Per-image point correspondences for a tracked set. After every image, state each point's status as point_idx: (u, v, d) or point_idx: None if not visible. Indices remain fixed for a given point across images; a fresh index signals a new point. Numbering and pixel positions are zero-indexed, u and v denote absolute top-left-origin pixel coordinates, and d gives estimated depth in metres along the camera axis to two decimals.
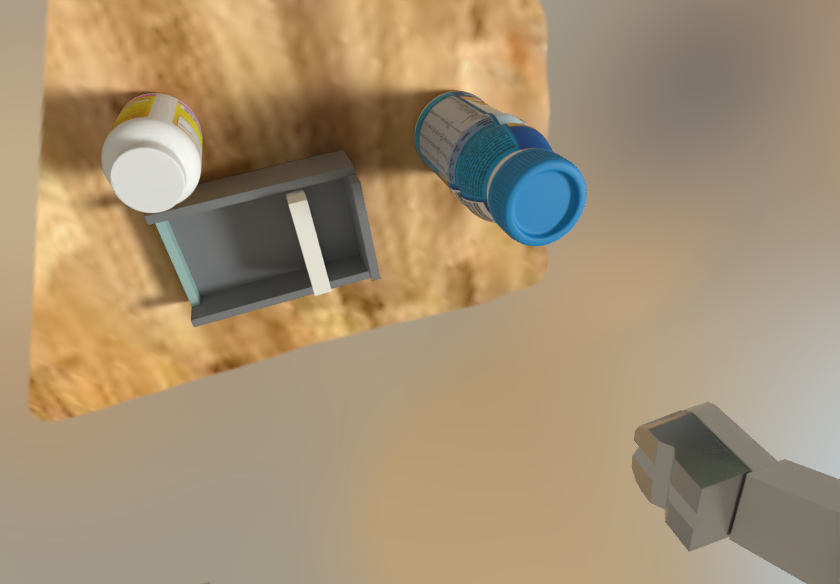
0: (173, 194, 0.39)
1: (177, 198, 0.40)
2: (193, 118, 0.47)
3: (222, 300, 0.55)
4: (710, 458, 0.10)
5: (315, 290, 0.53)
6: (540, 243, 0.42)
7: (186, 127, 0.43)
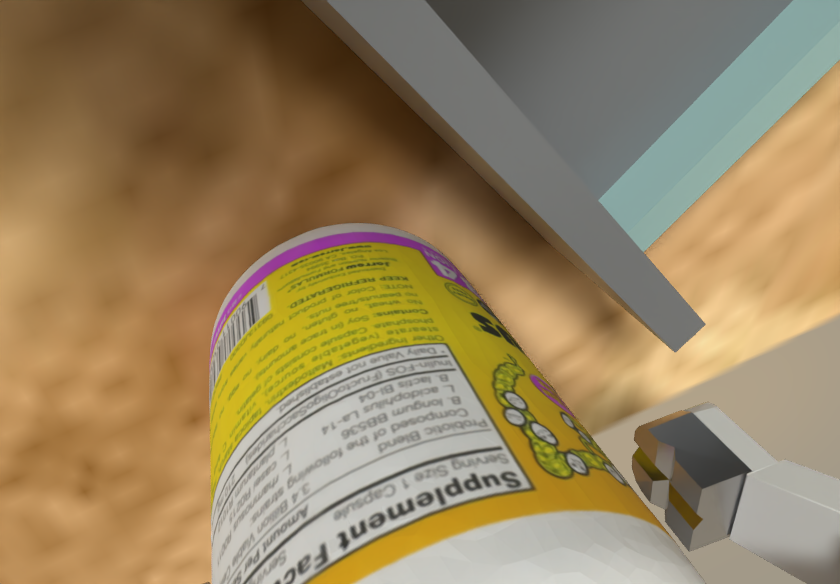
0: None
1: None
2: (217, 363, 0.11)
3: None
4: (710, 458, 0.10)
5: None
6: None
7: None
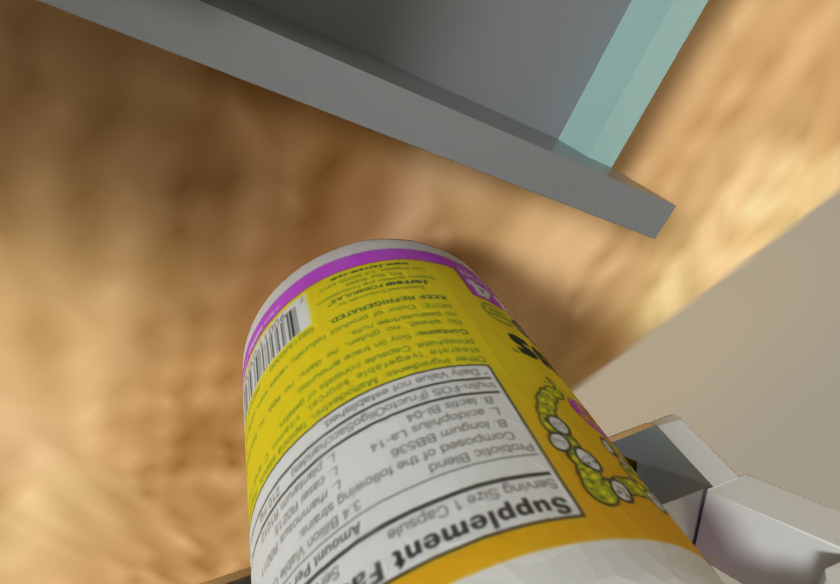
0: None
1: None
2: (254, 373, 0.11)
3: None
4: (672, 472, 0.09)
5: None
6: None
7: None
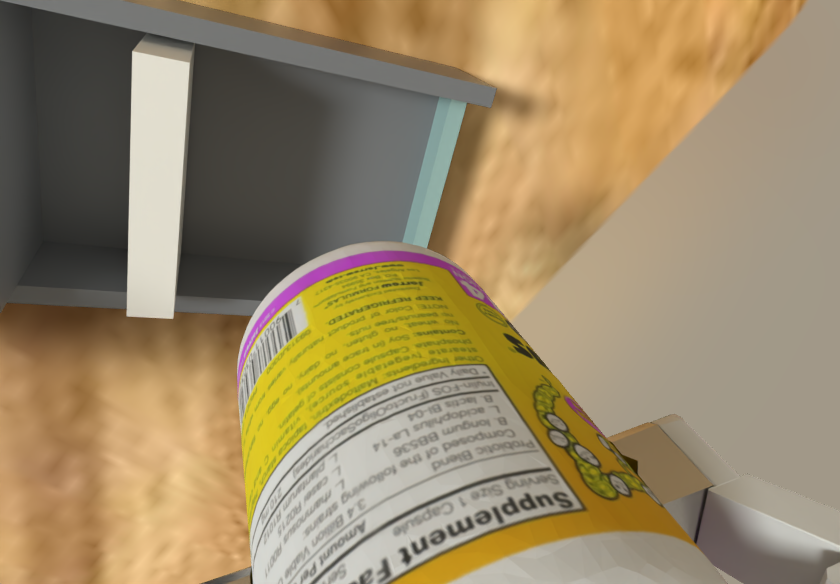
0: None
1: None
2: (251, 376, 0.11)
3: None
4: (672, 472, 0.10)
5: (180, 80, 0.18)
6: None
7: None
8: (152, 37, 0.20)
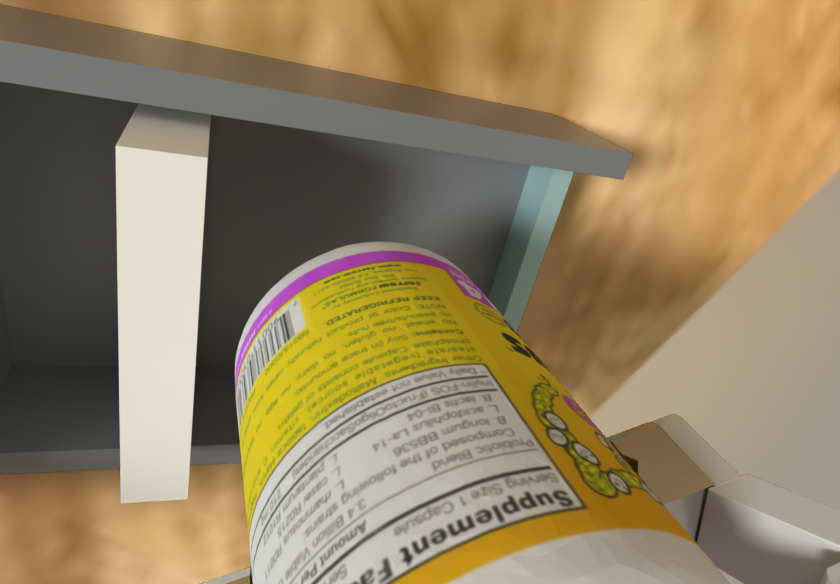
0: None
1: None
2: (249, 377, 0.11)
3: None
4: (673, 472, 0.09)
5: (193, 183, 0.11)
6: None
7: None
8: None
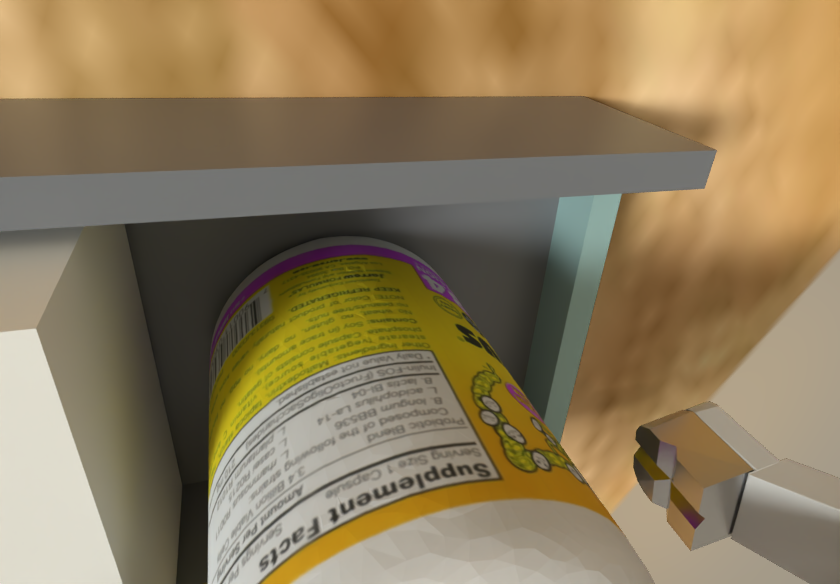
0: None
1: None
2: (219, 359, 0.12)
3: None
4: (711, 457, 0.10)
5: (27, 368, 0.07)
6: None
7: (211, 571, 0.09)
8: None
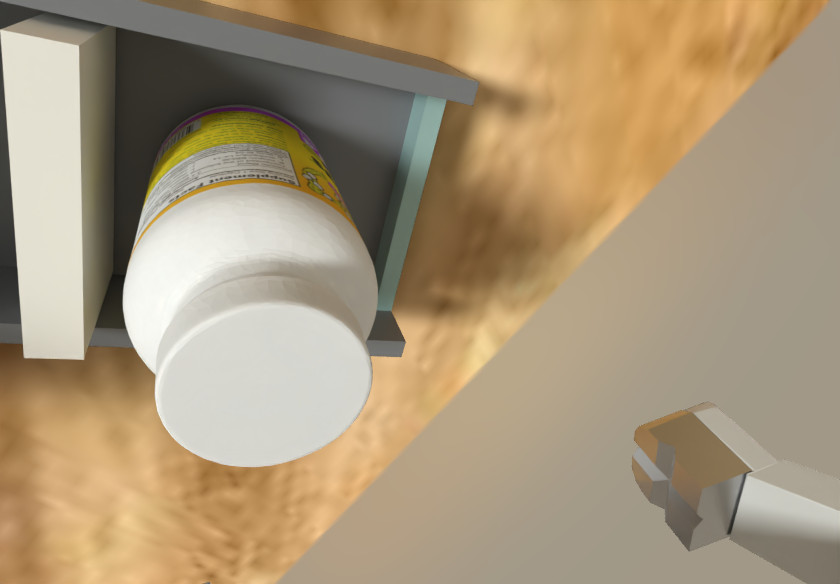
0: (284, 327, 0.12)
1: (293, 313, 0.12)
2: (160, 156, 0.19)
3: None
4: (710, 458, 0.10)
5: (68, 67, 0.14)
6: None
7: (139, 228, 0.15)
8: (50, 16, 0.16)
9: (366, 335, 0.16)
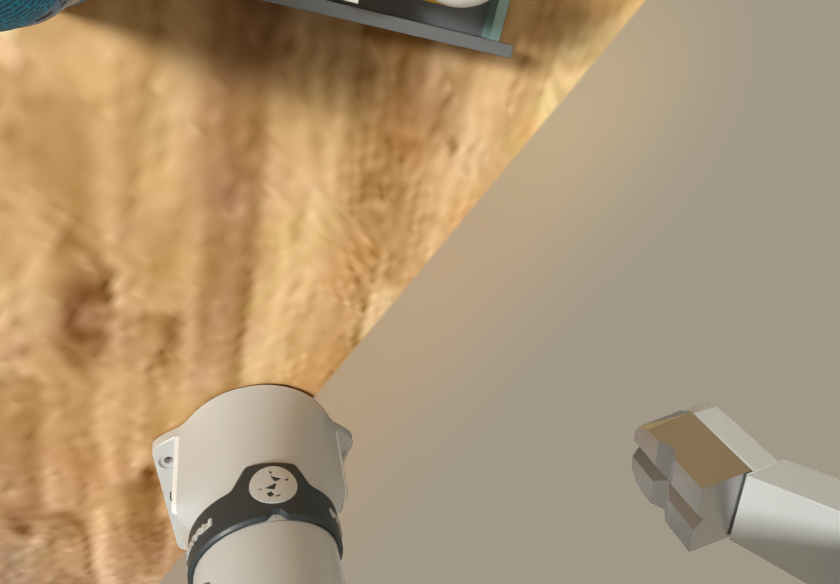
0: None
1: None
2: None
3: None
4: (710, 458, 0.10)
5: None
6: None
7: None
8: None
9: None
